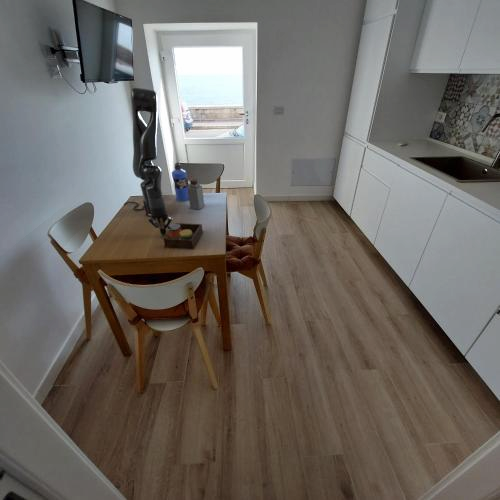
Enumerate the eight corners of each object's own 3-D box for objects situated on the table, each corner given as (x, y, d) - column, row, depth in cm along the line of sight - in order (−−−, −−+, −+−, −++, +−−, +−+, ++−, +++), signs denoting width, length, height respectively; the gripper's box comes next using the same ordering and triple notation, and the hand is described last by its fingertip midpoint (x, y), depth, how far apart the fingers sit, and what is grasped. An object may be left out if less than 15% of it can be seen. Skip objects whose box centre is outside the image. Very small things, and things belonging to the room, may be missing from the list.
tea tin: (180, 246, 140) (177, 234, 136) (184, 240, 145) (181, 228, 141) (191, 247, 139) (189, 235, 135) (195, 240, 144) (193, 229, 140)
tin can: (167, 238, 147) (165, 229, 143) (172, 232, 152) (170, 223, 149) (179, 239, 146) (177, 230, 143) (183, 232, 151) (182, 223, 148)
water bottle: (174, 197, 192) (168, 162, 178) (187, 195, 196) (181, 160, 182) (178, 202, 186) (172, 165, 172) (191, 199, 189) (186, 163, 175)
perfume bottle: (204, 205, 181) (201, 178, 171) (199, 209, 176) (195, 182, 166) (195, 204, 183) (191, 177, 173) (190, 208, 178) (186, 181, 168)
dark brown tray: (165, 247, 139) (163, 239, 137) (177, 230, 153) (175, 222, 151) (193, 248, 138) (191, 240, 135) (202, 232, 151) (201, 224, 149)
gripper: (172, 201, 142) (177, 230, 151) (147, 201, 142) (154, 230, 152) (167, 208, 135) (173, 237, 145) (141, 207, 136) (149, 237, 146)
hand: (163, 233), depth 148 cm, fingers closed
